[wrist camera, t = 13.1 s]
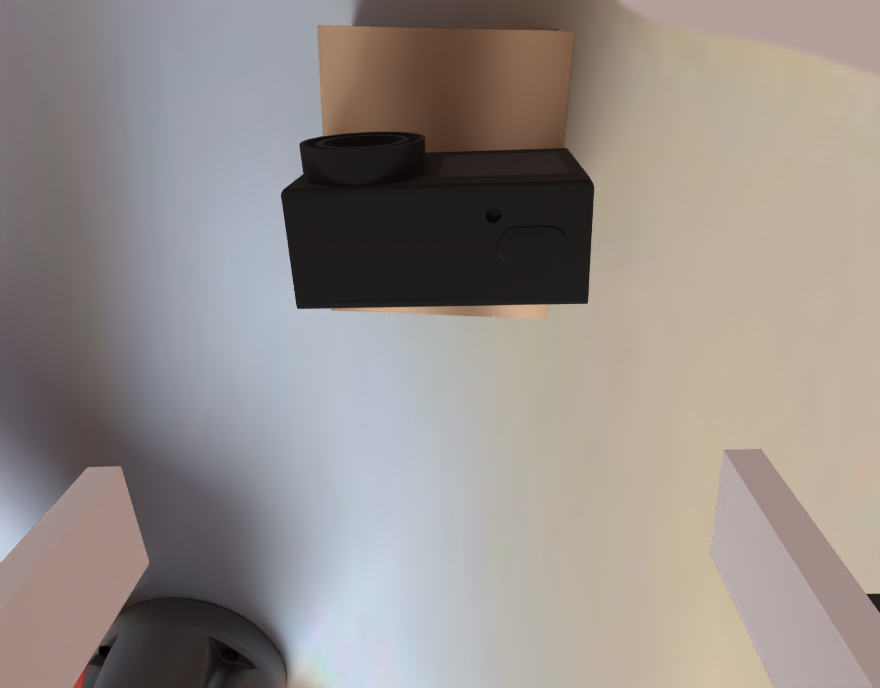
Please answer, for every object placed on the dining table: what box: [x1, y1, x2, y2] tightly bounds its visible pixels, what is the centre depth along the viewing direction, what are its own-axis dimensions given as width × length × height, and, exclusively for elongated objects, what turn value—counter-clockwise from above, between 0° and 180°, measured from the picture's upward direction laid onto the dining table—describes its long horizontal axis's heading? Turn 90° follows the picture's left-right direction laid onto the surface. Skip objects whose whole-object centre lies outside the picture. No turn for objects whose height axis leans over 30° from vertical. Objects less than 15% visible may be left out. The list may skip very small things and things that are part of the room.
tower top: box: [318, 25, 575, 319], centre depth 31 cm, size 10×12×4 cm
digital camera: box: [281, 132, 594, 309], centre depth 26 cm, size 10×5×7 cm, turn 92°
